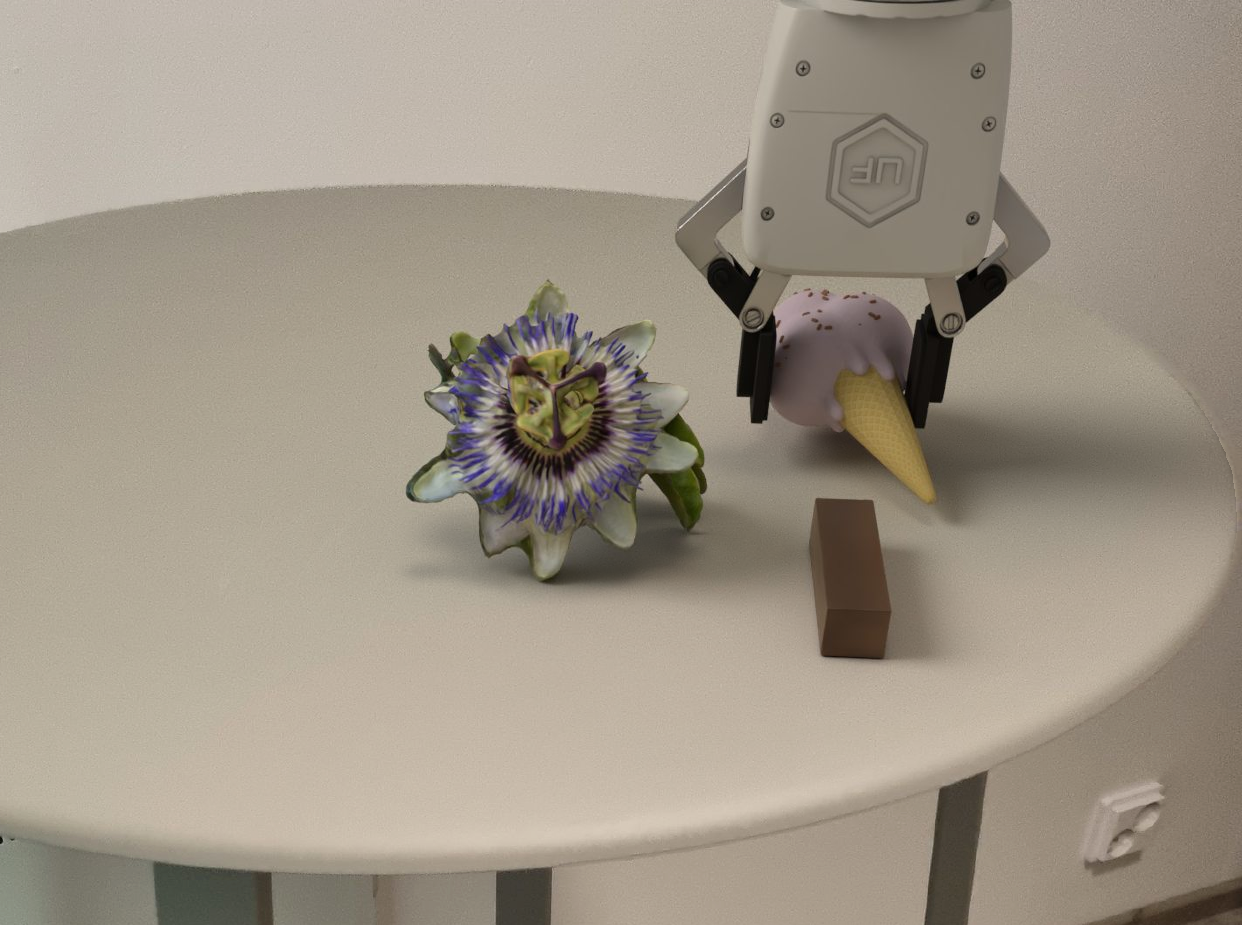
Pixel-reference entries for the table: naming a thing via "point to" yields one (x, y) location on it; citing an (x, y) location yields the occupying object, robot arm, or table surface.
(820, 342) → the ice cream cone
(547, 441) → the passion flower
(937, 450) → the table surface
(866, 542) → the rectangular block
